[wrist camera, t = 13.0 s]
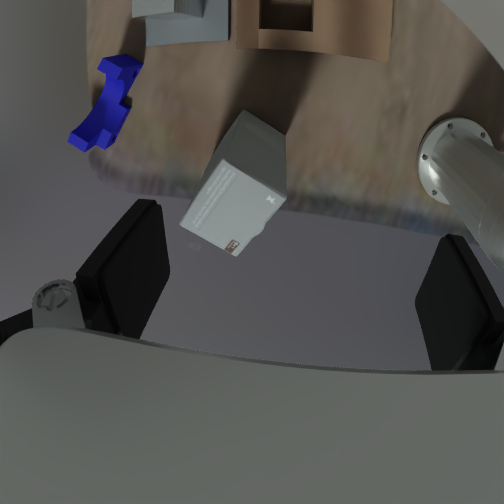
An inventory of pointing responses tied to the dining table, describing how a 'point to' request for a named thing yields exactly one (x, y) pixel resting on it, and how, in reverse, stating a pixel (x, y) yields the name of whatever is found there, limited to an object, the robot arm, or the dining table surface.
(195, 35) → the rubber mat
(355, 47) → the wooden block with hole
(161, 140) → the dining table surface
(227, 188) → the skincare box
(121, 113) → the cable clip
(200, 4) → the steel bar
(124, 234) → the robot arm
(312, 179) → the dining table surface
